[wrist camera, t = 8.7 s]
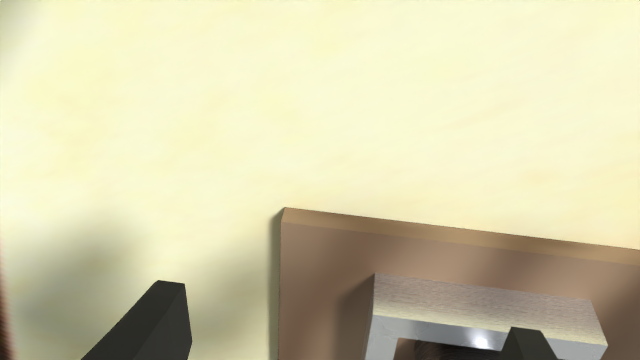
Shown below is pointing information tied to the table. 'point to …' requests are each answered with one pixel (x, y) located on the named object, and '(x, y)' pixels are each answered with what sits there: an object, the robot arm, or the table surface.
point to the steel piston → (451, 352)
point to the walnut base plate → (434, 277)
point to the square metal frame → (475, 317)
